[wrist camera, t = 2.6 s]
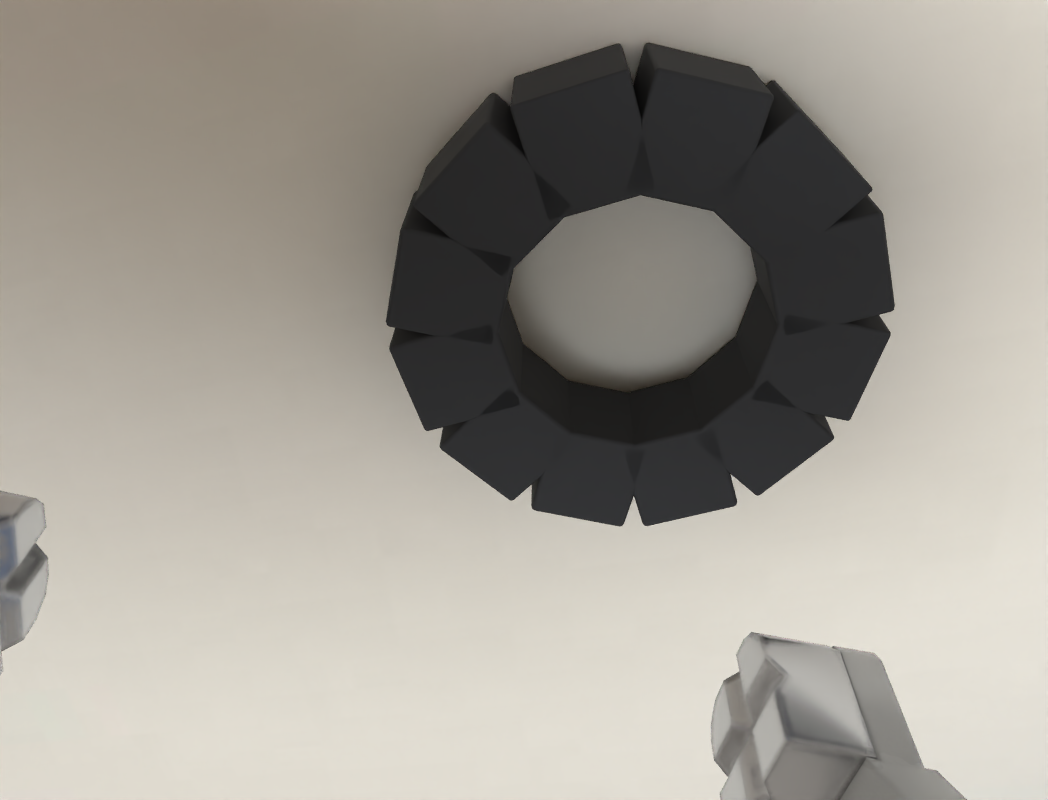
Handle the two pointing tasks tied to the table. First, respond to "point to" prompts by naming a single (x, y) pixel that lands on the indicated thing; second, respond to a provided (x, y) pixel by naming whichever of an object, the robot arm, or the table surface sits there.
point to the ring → (611, 176)
